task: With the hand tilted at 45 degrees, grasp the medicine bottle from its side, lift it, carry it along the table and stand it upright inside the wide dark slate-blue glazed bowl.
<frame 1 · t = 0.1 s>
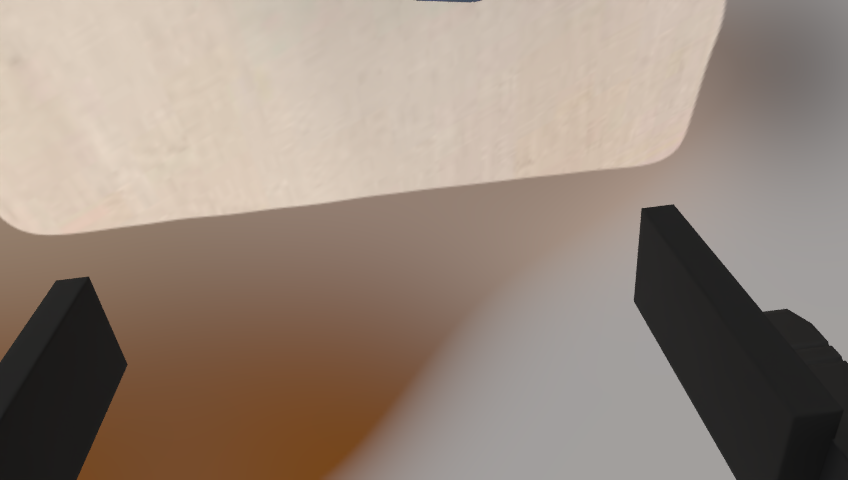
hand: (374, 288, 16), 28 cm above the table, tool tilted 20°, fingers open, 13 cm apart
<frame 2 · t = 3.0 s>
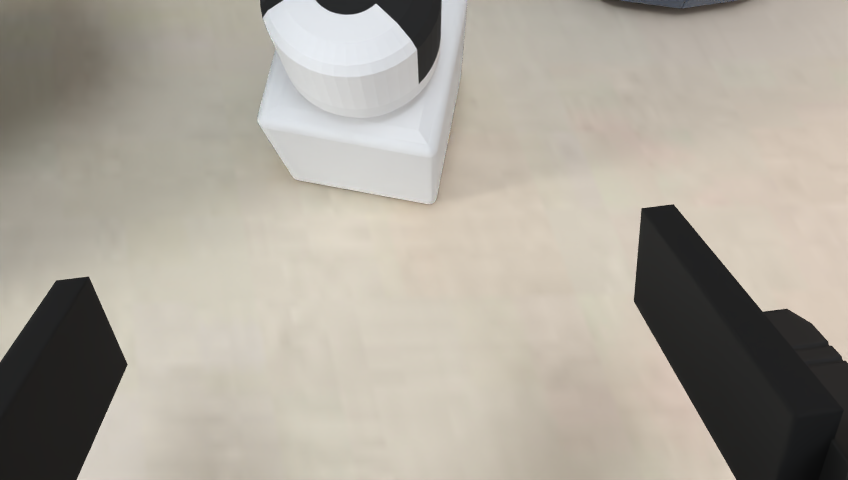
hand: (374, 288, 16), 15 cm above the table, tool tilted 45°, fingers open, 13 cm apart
medicine bottle: (378, 127, 33), on the table
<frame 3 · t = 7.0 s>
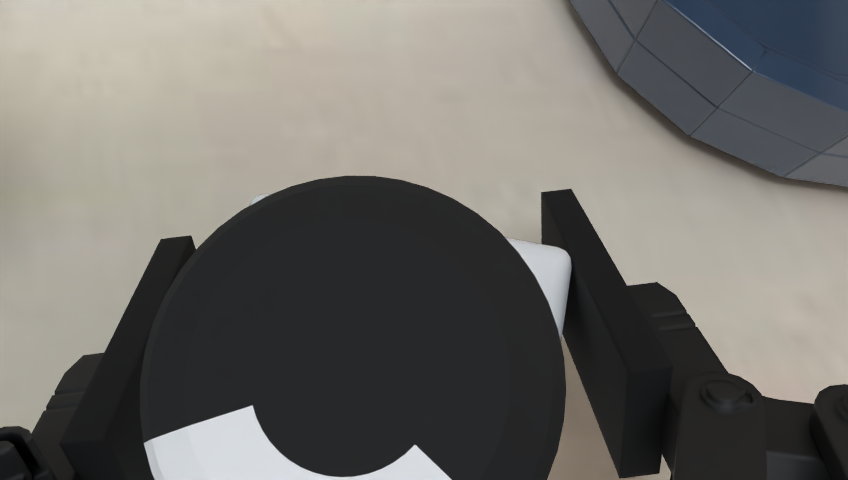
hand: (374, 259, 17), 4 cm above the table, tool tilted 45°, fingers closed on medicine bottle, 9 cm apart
medicine bottle: (396, 389, 21), on the table, touching gripper
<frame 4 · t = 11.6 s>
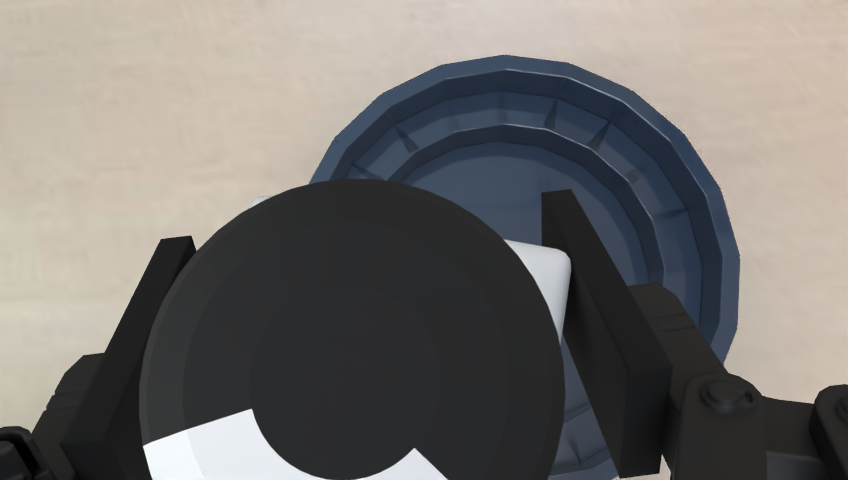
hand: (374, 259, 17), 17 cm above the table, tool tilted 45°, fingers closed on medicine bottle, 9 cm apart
bowl: (502, 279, 34), on the table
medicine bottle: (396, 390, 21), point 13 cm above the table, touching gripper
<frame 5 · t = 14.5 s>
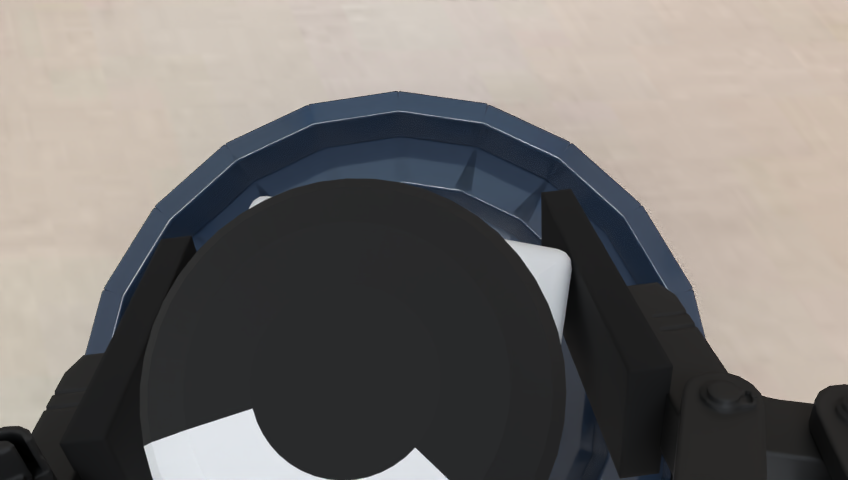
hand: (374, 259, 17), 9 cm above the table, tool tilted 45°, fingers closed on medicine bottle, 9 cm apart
bowl: (402, 389, 26), on the table
medicine bottle: (396, 390, 21), point 5 cm above the table, touching gripper
when the fingers open (5 cm above the table, at t = 16.4 s): medicine bottle stays where it is, resting on bowl.
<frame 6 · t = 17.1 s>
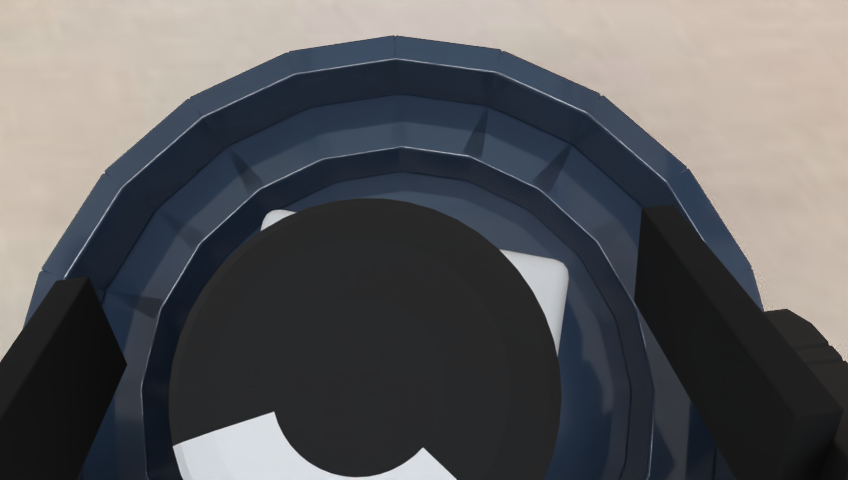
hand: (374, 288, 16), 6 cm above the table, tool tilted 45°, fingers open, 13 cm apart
bowl: (401, 390, 22), on the table
medicine bottle: (401, 393, 21), resting on bowl
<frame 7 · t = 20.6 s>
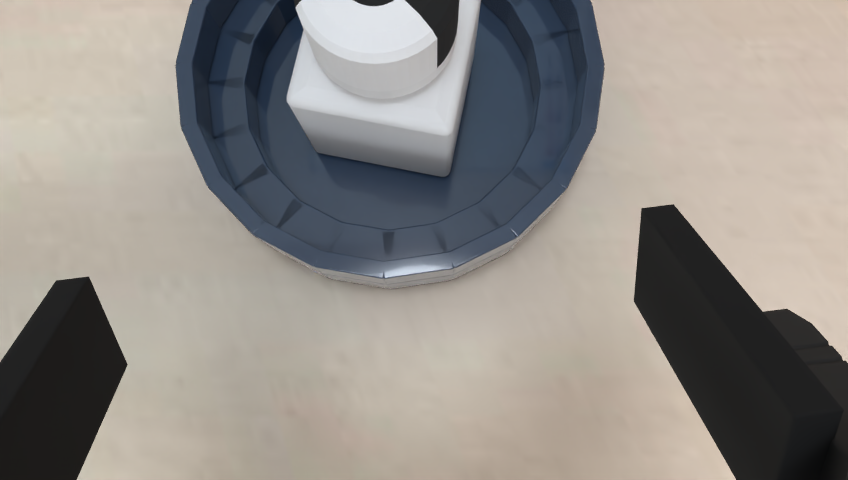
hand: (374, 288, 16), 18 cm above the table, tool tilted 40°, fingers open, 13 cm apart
bowl: (395, 105, 36), on the table
medicine bottle: (395, 103, 35), resting on bowl
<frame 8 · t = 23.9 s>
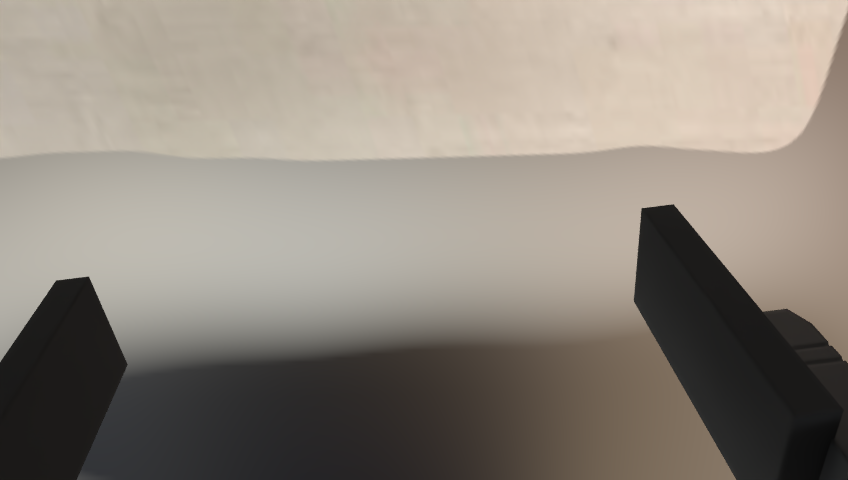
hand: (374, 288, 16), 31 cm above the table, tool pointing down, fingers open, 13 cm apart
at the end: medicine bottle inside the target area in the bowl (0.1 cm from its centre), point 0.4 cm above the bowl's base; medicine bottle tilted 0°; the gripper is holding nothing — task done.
